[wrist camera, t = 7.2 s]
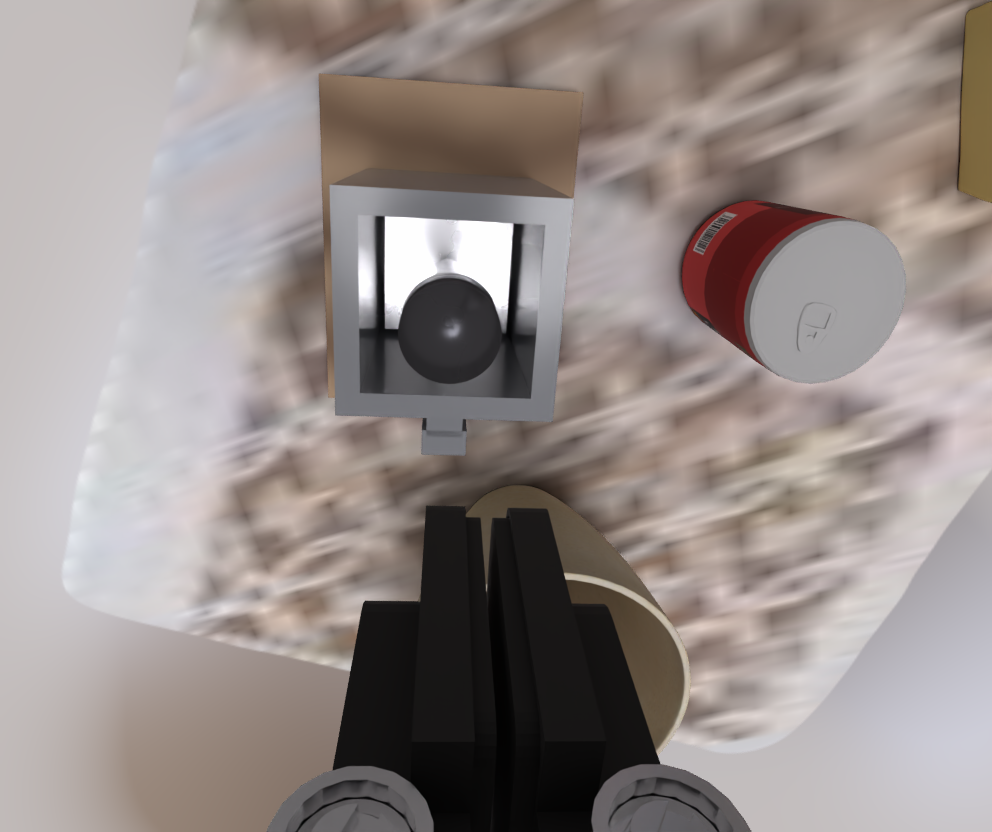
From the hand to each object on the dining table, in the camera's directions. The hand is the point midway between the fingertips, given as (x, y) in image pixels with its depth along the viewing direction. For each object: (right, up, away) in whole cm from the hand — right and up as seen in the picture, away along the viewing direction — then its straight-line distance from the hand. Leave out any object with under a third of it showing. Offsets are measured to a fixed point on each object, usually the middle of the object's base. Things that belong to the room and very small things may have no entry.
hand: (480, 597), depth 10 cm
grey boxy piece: (-3, +11, +31) cm, 33 cm away
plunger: (-2, +10, +27) cm, 29 cm away
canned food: (+15, +12, +34) cm, 39 cm away
